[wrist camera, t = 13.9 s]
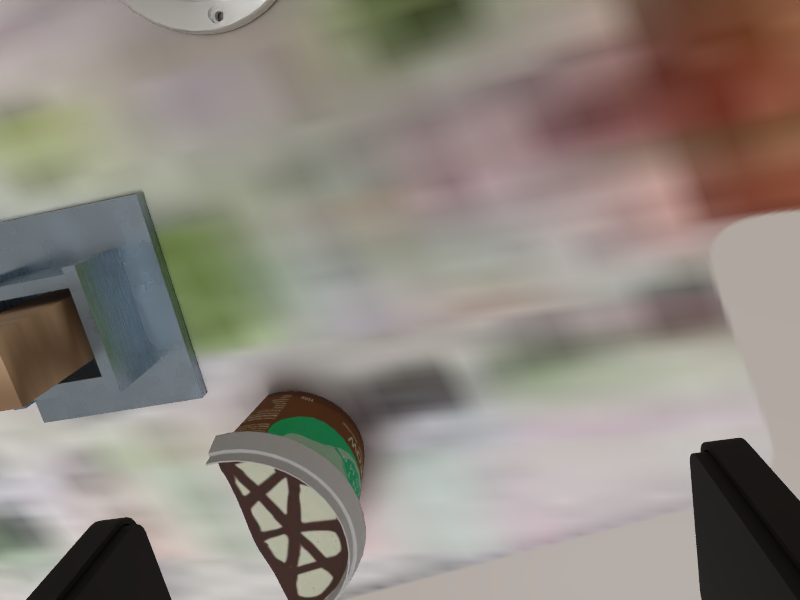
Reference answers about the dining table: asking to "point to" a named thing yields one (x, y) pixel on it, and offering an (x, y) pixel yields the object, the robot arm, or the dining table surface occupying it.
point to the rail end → (40, 347)
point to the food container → (299, 490)
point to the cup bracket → (104, 305)
